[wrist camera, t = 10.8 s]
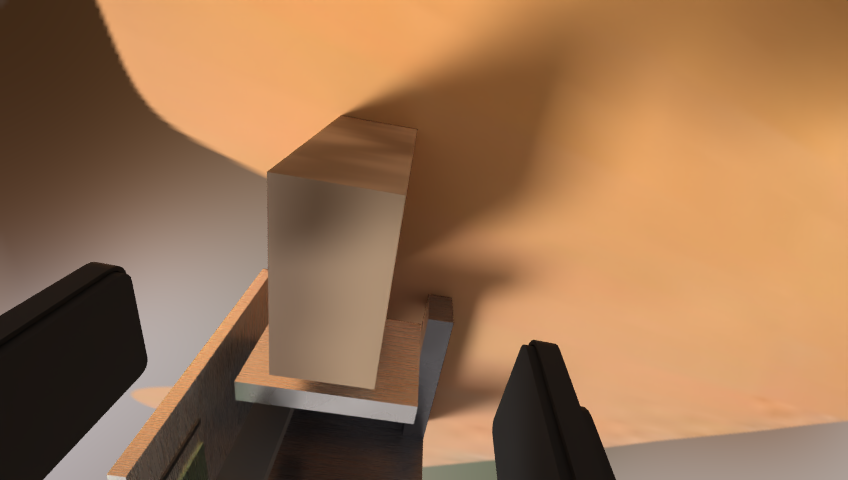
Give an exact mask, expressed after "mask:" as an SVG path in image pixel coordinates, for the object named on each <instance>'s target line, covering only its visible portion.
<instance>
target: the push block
mask: <svg viewBox="0 0 848 480" xmlns="http://www.w3.org/2000/svg"><path fill="white" fill-rule="evenodd" d="M416 135H417V129H413V128H407V127H402V126H396V125H391V124H385V123H379V122H374V121H368V120H363V119H357V118H352V117H346V116H340V117H338V118H337V119H336V120H334V121H333V122H332V123H330V124H329V125H328V126H327V127H325V128H324V129H323V130H321V131H320V132H319V133H317V134H316V135H315V136H313V137H312V138H311V139H310V140H308V141H307V142H306V143H304V144H303V145H302V146H300V147H299V148H298V149H296V150H295V151H294V152H292V153H291V154H290V155H289V156H287V157H286V158H285V159H283V160H282V161H281V162H279V163H278V164H277V165H275V166H274V167H273V168H271V169H270V170H269V171H268V172H267V209H268V314H269V375H274V376H281V377H288V378H296V379H303V380H310V381H317V382H324V383H331V384H339V385H346V386H353V387H360V388H367V389H374V388H375V382H376V377H377V371H378V365H379V359H380V353H381V347H382V341H383V335H384V329H385V323H386V317H387V311H388V305H389V299H390V293H391V288H392V282H393V276H394V270H395V264H396V258H397V252H398V246H399V239H400V233H401V227H402V221H403V215H404V209H405V202H406V196H407V190H408V184H409V178H410V172H411V165H412V159H413V153H414V147H415V141H416Z"/></svg>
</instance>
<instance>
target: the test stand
mask: <svg viewBox="0 0 848 480" xmlns="http://www.w3.org/2000/svg"><path fill="white" fill-rule="evenodd" d="M453 323H454V322H453V309H452V298H448V297H442V296H435V295H428V300H427V305H426V309H425V314H424V318H423V323H422V328H421V338H420V363H419V387H418V408H417V412H416V416H415V420H414V424H409V423H401V422H394V421H387V420H379V419H372V418H364V417H357V416H350V415H342V414H335V413H328V412H320V411H313V410H306V409H298V408H295V409H294V411H293V414H292V416H291V419H290V422H289V424H288V427H287V430H286V432H285V435H284V438H283V440H282V443H281V445H280V448H279V451H278V453H277V456H276V459H275V461H274V464H273V466H272V469H271V472H270V474H269V477H268V480H422V456H423V437H424V433H425V430H426V426H427V422H428V418H429V414H430V411H431V407H432V403H433V399H434V395H435V392H436V388H437V384H438V380H439V376H440V373H441V369H442V365H443V361H444V357H445V354H446V350H447V346H448V342H449V338H450V335H451V331H452V327H453ZM268 324H269V314H268V269H262V271H261V272H260V273H259V275H258V276H257V277H256V279H255V280H254V281H253V283H252V284H251V285H250V287H249V288H248V289H247V291H246V292H245V293H244V295H243V296H242V297H241V298H240V300H239V301H238V302H237V304H236V305H235V307H234V308H233V309H232V310H231V312H230V313H229V315H228V316H227V317H226V318H225V319H224V321H223V322H222V323H221V325H220V326H219V327H218V329H217V330H216V331H215V333H214V334H213V335H212V337H211V338H210V339H209V341H208V342H207V343H206V345H205V346H204V347H203V349H202V350H201V351H200V353H199V354H198V355H197V357H196V358H195V359H194V360H193V362H192V363H191V364H190V366H189V367H188V368H187V370H186V371H185V372H184V374H183V375H182V376H181V377H180V379H179V380H178V381H177V383H176V384H175V385H174V387H173V388H172V389H171V391H170V392H169V393H168V394H167V396H166V397H165V398H164V400H163V401H162V402H161V404H160V405H159V406H158V408H157V409H156V410H155V412H154V413H153V414H152V416H151V417H150V418H149V420H148V421H147V422H146V423H145V425H144V426H143V427H142V429H141V430H140V431H139V433H138V434H137V435H136V437H135V438H134V439H133V441H132V442H131V443H130V445H129V446H128V447H127V448H126V450H125V451H124V452H123V454H122V455H121V457H120V458H119V459H118V460H117V462H116V463H115V464H114V466H113V467H112V468H111V470H110V471H109V472H108V473H107V478H108V480H216V478H217V476H218V474H219V472H220V470H221V468H222V466H223V464H224V462H225V460H226V458H227V456H228V454H229V452H230V450H231V448H232V446H233V444H234V442H235V440H236V438H237V436H238V434H239V432H240V430H241V428H242V426H243V424H244V422H245V420H246V418H247V416H248V414H249V412H250V410H251V408H252V406H253V404H254V402H247V401H239V400H236V397H235V380H236V378H237V376H238V375H239V373H240V371H241V370H242V368H243V366H244V365H245V363H246V361H247V359H248V358H249V356H250V354H251V353H252V351H253V349H254V348H255V346H256V344H257V343H258V341H259V339H260V337H261V336H262V334H263V332H264V331H265V329H266V327H267V326H268Z"/></svg>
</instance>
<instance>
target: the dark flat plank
mask: <svg viewBox="0 0 848 480" xmlns="http://www.w3.org/2000/svg"><path fill="white" fill-rule="evenodd" d="M294 409H295V408H291V407H283V406H276V405H269V404H261V403H254V404H253V406H252V408H251V410H250V412H249V414H248V416H247V418H246V420H245V422H244V424H243V426H242V428H241V430H240V432H239V434H238V436H237V438H236V440H235V442H234V444H233V446H232V448H231V450H230V452H229V454H228V456H227V458H226V460H225V462H224V464H223V466H222V468H221V470H220V472H219V474H218V476H217V478H216V480H268V477H269V474H270V472H271V469H272V466H273V464H274V461H275V459H276V456H277V453H278V451H279V448H280V445H281V443H282V440H283V438H284V435H285V432H286V430H287V427H288V424H289V422H290V419H291V416H292V414H293V411H294Z"/></svg>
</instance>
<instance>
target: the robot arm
mask: <svg viewBox="0 0 848 480" xmlns="http://www.w3.org/2000/svg"><path fill="white" fill-rule="evenodd" d="M146 366H147V354H146V349H145V344H144V339H143V334H142V329H141V325H140V319H139V314H138V309H137V304H136V299H135V294H134V289H133V284H132V280H131V277H130V276H129V275H128V274H126V272H125V270H124V269H123V268H122V267H119V266H115V265H109V264H104V263H98V262H90V263H88V264H86V265H84V266H82V267H81V268H79V269H77V270H76V271H74V272H72V273H71V274H69V275H67V276H66V277H64V278H63V279H61V280H59V281H57V282H56V283H54V284H53V285H51V286H49V287H47V288H46V289H44V290H42V291H41V292H39V293H37V294H36V295H34V296H32V297H31V298H29V299H27V300H26V301H24V302H23V303H21V304H19V305H17V306H16V307H14V308H12V309H11V310H9V311H7V312H6V313H4V314H2V315H1V316H0V480H43V479H44V478H45V477H46V476H47V475H48V474H49V473H50V472H51V471H52V469H53V468H54V467H55V466H56V465H57V464H58V463H59V462H60V461H61V460H62V459H63V458H64V457H65V456H66V455H67V453H68V452H69V451H70V450H71V449H72V448H73V447H74V446H75V445H76V444H77V443H78V442H79V441H80V439H82V438H83V436H84V435H85V434H86V433H87V432H88V431H89V430H90V429H91V428H92V427H93V426H94V425H95V424H96V423H97V422H98V420H99V419H100V418H101V417H102V416H103V415H104V414H105V413H106V412H107V411H108V410H109V409H110V407H112V405H114V403H115V402H116V401H117V400H118V399H119V398H120V397H121V396H122V395H123V394H124V393H125V392H126V390H128V389H129V387H130V386H131V385H132V384H133V383H134V382H135V381H136V380H137V379H138V378H139V377H140V376H141V374H142V373H143V372H144V370H145V368H146ZM492 434H493V444H494V453H495V462H496V471H497V480H616V479H615V476H614V474H613V471H612V468H611V466H610V463H609V461H608V458H607V455H606V453H605V450H604V447H603V445H602V442H601V440H600V437H599V434H598V432H597V429H596V427H595V424H594V421H593V419H592V417H591V415H590V413H589V411H588V410H587V409H586V408H585V407H581V406H580V404H579V401H578V399H577V396H576V393H575V390H574V388H573V385H572V382H571V379H570V377H569V374H568V371H567V368H566V366H565V363H564V360H563V357H562V355H561V352H560V349H559V347H558V345H556V344H554V343H548V342H542V341H537V340H532V341H531V342H530V343H529V345H522V347H521V349H520V351H519V354H518V357H517V359H516V362H515V364H514V367H513V370H512V372H511V375H510V378H509V380H508V383H507V386H506V388H505V391H504V394H503V396H502V399H501V401H500V404H499V407H498V409H497V412H496V415H495V417H494V421H493V428H492Z"/></svg>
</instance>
